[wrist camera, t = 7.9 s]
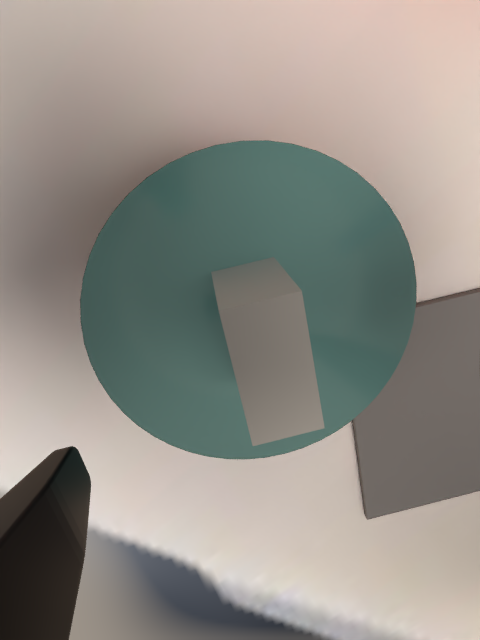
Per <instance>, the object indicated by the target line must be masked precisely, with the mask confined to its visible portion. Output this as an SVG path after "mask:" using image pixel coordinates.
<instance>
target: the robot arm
mask: <svg viewBox="0 0 480 640" xmlns="http://www.w3.org/2000/svg"><path fill="white" fill-rule="evenodd" d="M90 492H91V480H90V476H89V473H88V471H87V469H86V467H85V465H84V462H83V460H82V458H81V456H80V454H79V451H78V450H77V449H76V448H75V447H73V446H71V447H66V448H62V449H58V450H55V451H54V452H52V453H51V454H50V455H49V456H48V457H47V458H46V459H44V460H43V461H42V462H41V463H40V464H39V465H38V466H37V467H36V468H34V469H33V470H32V471H31V472H30V473H29V474H28V475H27V476H25V477H24V478H23V479H22V480H21V481H20V482H19V483H18V484H16V485H15V486H14V487H13V488H12V489H11V490H10V491H9V492H7V493H6V494H5V495H4V496H3V497H2V498H1V499H0V640H69V635H70V630H71V624H72V619H73V614H74V609H75V605H76V599H77V594H78V589H79V584H80V579H81V574H82V568H83V563H84V557H85V550H86V549H85V548H86V540H87V539H86V538H87V528H88V516H89V504H90Z"/></svg>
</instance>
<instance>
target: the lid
mask: <svg viewBox="0 0 480 640" xmlns="http://www.w3.org/2000/svg"><path fill="white" fill-rule="evenodd" d="M80 308H81V326H82V332H83V339H84V344H85V347H86V350H87V353H88V356H89V360H90V363H91V365H92V367H93V369H94V371H95V373H96V375H97V377H98V379H99V381H100V383H101V384H102V386H103V387H104V389H105V390H106V392H107V393H108V395H109V396H110V398H111V399H112V400H113V401H114V403H115V404H116V405H117V406H118V407H119V408H120V409H121V411H122V412H123V413H124V414H125V415H127V416H128V417H129V418H130V419H131V420H132V421H133V422H135V423H136V424H137V425H138V426H139V427H141V428H142V429H144V430H145V431H147V432H148V433H150V434H151V435H153V436H154V437H156V438H158V439H160V440H162V441H164V442H166V443H168V444H170V445H172V446H175V447H177V448H180V449H183V450H185V451H188V452H192V453H196V454H200V455H204V456H208V457H216V458H224V459H255V458H265V457H270V456H275V455H281V454H285V453H288V452H291V451H295V450H298V449H301V448H304V447H306V446H308V445H311V444H313V443H315V442H318V441H320V440H322V439H324V438H325V437H327V436H329V435H331V434H332V433H334V432H336V431H338V430H339V429H340V428H342V427H343V426H345V425H346V424H347V423H349V422H350V421H352V420H353V419H354V418H355V417H356V416H357V415H359V414H360V413H361V412H362V411H363V410H364V409H365V408H366V407H367V406H368V405H369V404H370V403H371V402H372V401H373V400H374V399H375V398H376V397H377V395H378V394H379V393H380V392H381V390H382V389H383V388H384V386H385V385H386V384H387V382H388V381H389V379H390V378H391V376H392V375H393V373H394V371H395V369H396V368H397V366H398V364H399V362H400V360H401V358H402V356H403V353H404V351H405V348H406V346H407V344H408V341H409V337H410V333H411V330H412V326H413V322H414V315H415V308H416V276H415V268H414V261H413V258H412V254H411V250H410V247H409V243H408V241H407V238H406V236H405V234H404V231H403V229H402V227H401V224H400V222H399V221H398V219H397V218H396V216H395V214H394V213H393V211H392V210H391V208H390V206H389V205H388V204H387V202H386V201H385V200H384V199H383V198H382V196H381V195H380V194H379V193H378V192H377V191H376V189H375V188H374V187H373V186H372V185H370V184H369V183H368V182H367V181H366V180H365V179H364V178H362V177H361V176H360V175H359V174H358V173H357V172H355V171H353V170H352V169H350V168H349V167H347V166H346V165H344V164H342V163H341V162H339V161H338V160H336V159H333V158H331V157H329V156H327V155H325V154H322V153H320V152H318V151H316V150H312V149H309V148H305V147H302V146H298V145H294V144H289V143H282V142H274V141H239V142H232V143H226V144H220V145H215V146H211V147H208V148H205V149H202V150H198V151H195V152H192V153H190V154H188V155H185V156H183V157H181V158H179V159H177V160H175V161H173V162H171V163H169V164H167V165H166V166H164V167H163V168H161V169H159V170H158V171H156V172H155V173H153V174H152V175H150V176H149V177H147V178H146V179H145V180H144V181H143V182H142V183H140V184H139V185H138V186H137V187H136V188H135V189H134V190H133V191H131V192H130V193H129V194H128V195H127V196H126V197H125V199H124V200H123V201H122V202H121V203H120V204H119V206H118V207H117V208H116V209H115V210H114V212H113V213H112V214H111V216H110V217H109V219H108V220H107V222H106V224H105V225H104V227H103V228H102V230H101V232H100V233H99V235H98V237H97V240H96V242H95V244H94V246H93V249H92V251H91V253H90V255H89V259H88V262H87V266H86V270H85V273H84V277H83V283H82V291H81V299H80Z"/></svg>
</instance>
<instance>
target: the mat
mask: <svg viewBox="0 0 480 640" xmlns="http://www.w3.org/2000/svg"><path fill="white" fill-rule="evenodd" d="M352 421H353V429H354V437H355V444H356V452H357V459H358V467H359V474H360V482H361V489H362V497H363V505H364V512H365V516H366V518H367V520H368V519H372V518H376V517H380V516H383V515H387V514H391V513H395V512H399V511H403V510H407V509H411V508H415V507H418V506H422V505H426V504H430V503H434V502H438V501H442V500H446V499H450V498H453V497H457V496H461V495H465V494H469V493H473V492H477V491H480V288H479V289H475V290H471V291H466V292H462V293H458V294H454V295H450V296H446V297H442V298H438V299H434V300H430V301H425V302H421V303H417V304H416V308H415V315H414V322H413V326H412V330H411V333H410V337H409V341H408V344H407V346H406V348H405V351H404V353H403V356H402V358H401V360H400V362H399V364H398V366H397V368H396V369H395V371H394V373H393V375H392V376H391V378H390V379H389V381H388V382H387V384H386V385H385V386H384V388H383V389H382V390H381V392H380V393H379V394H378V395H377V397H376V398H375V399H374V400H373V401H372V402H371V403H370V404H369V405H368V406H367V407H366V408H365V409H364V410H363V411H362V412H361V413H360V414H359V415H357V416H356V417H355V418H354V419H353V420H352Z"/></svg>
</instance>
